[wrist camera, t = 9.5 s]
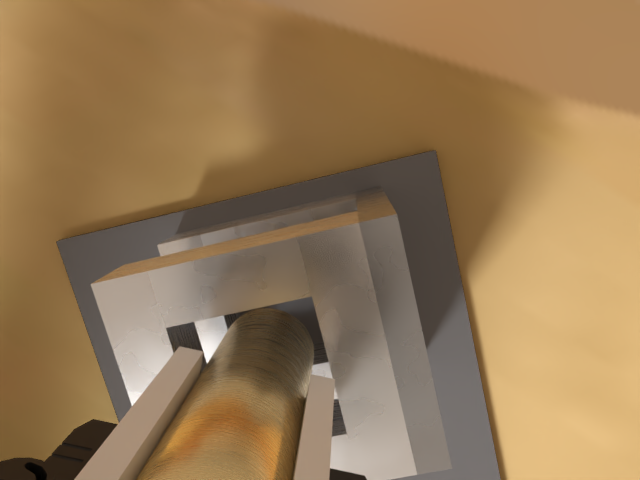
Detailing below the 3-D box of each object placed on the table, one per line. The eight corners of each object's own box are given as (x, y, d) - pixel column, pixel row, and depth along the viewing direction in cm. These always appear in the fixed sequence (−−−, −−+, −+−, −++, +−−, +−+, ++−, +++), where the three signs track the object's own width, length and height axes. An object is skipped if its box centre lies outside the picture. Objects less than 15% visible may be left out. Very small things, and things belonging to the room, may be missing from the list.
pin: (236, 401, 20) (46, 856, 8) (212, 318, 20) (-42, 663, 7) (323, 384, 20) (278, 830, 7) (301, 299, 19) (209, 624, 7)
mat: (199, 639, 31) (197, 647, 30) (61, 239, 26) (56, 241, 26) (521, 590, 29) (524, 598, 28) (433, 150, 24) (435, 150, 24)
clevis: (225, 399, 27) (170, 518, 19) (175, 234, 25) (90, 284, 17) (419, 360, 26) (451, 468, 18) (380, 185, 24) (397, 214, 16)
